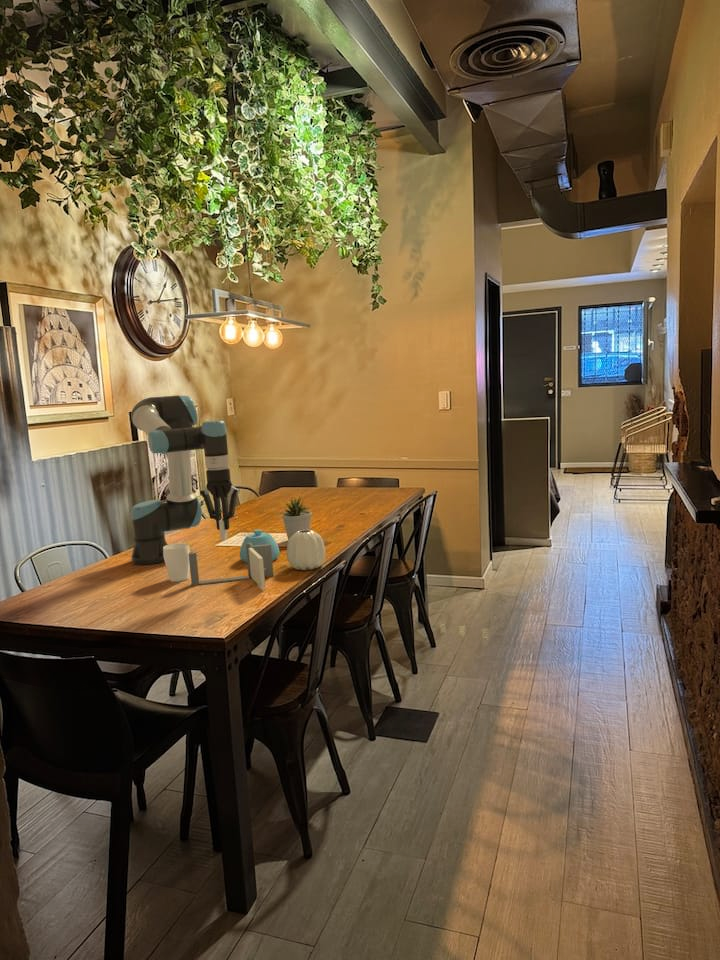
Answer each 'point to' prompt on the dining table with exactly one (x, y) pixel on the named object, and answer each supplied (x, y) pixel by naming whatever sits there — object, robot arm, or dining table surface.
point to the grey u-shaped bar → (267, 562)
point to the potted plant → (296, 518)
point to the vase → (305, 550)
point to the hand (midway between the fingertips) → (224, 539)
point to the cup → (177, 561)
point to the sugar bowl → (259, 543)
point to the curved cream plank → (257, 568)
